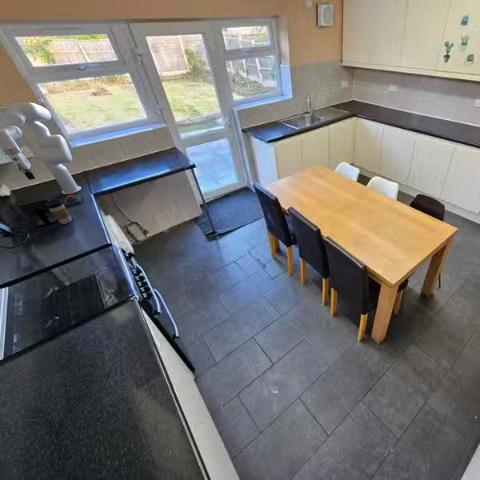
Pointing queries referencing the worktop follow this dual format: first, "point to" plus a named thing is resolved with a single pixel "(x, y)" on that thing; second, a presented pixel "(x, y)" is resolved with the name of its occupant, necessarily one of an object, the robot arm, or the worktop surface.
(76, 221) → the worktop surface
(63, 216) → the coffee cup
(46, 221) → the monitor stand
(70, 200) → the switch box
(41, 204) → the screen
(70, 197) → the power button
